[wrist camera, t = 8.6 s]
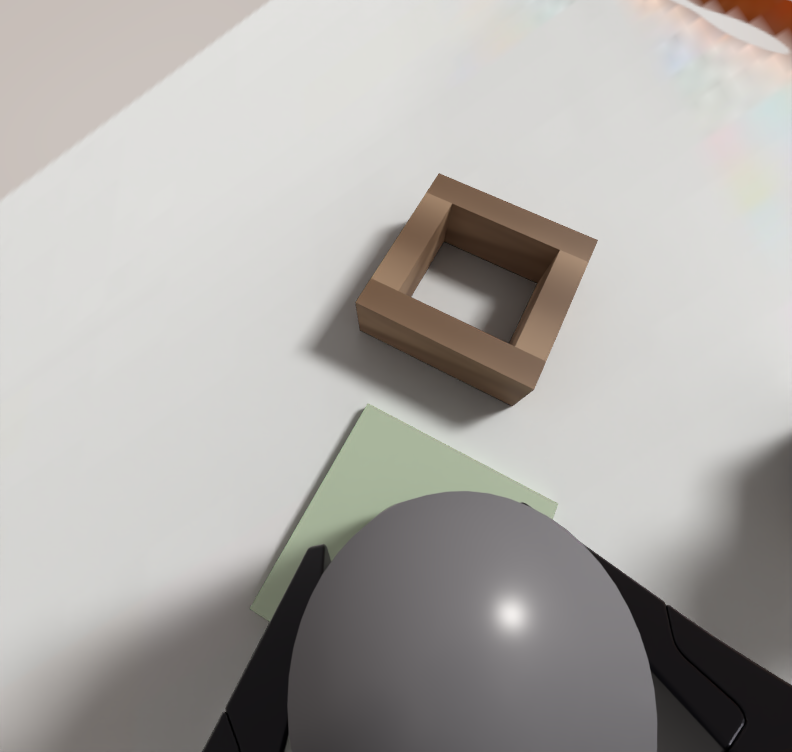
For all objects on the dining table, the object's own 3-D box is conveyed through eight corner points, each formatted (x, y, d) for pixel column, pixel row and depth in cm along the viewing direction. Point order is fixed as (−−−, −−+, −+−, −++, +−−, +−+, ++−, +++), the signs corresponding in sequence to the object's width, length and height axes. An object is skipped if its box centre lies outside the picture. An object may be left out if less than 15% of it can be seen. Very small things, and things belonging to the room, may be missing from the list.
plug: (454, 642, 14) (641, 1025, 4) (341, 602, 14) (222, 850, 4) (481, 519, 16) (668, 548, 5) (377, 486, 16) (357, 451, 5)
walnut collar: (512, 406, 19) (533, 389, 16) (359, 330, 20) (355, 302, 18) (570, 274, 22) (598, 240, 19) (432, 213, 23) (438, 173, 20)
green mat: (464, 739, 15) (468, 749, 14) (254, 605, 16) (249, 608, 16) (552, 503, 18) (558, 503, 17) (368, 406, 19) (367, 403, 19)
